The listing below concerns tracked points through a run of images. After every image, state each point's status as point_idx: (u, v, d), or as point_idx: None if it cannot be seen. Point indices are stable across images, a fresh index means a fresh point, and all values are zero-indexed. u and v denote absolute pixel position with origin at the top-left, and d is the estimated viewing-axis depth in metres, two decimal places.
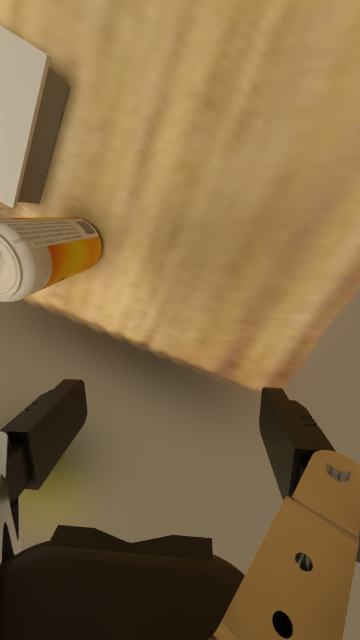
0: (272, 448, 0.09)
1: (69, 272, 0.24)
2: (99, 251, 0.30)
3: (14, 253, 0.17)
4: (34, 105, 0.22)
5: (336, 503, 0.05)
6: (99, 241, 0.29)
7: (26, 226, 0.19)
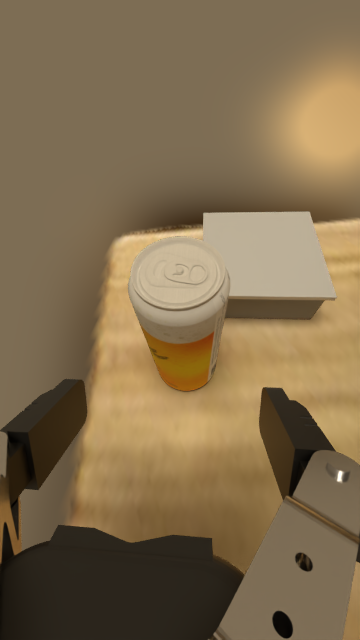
0: (272, 448, 0.09)
1: (173, 363, 0.18)
2: (192, 388, 0.24)
3: (212, 296, 0.13)
4: (296, 296, 0.24)
5: (336, 502, 0.05)
6: (203, 384, 0.24)
7: None
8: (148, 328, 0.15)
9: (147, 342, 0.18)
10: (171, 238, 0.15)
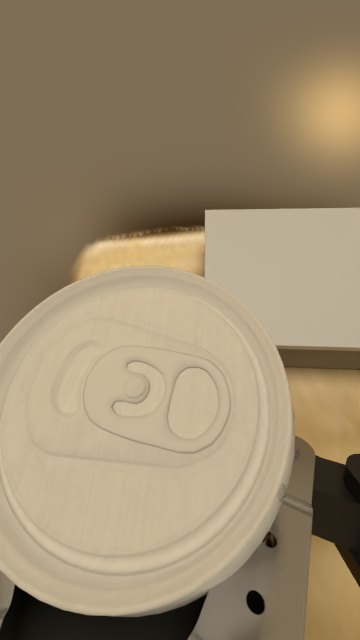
0: None
1: None
2: None
3: (252, 533, 0.03)
4: None
5: (291, 479, 0.06)
6: None
7: None
8: None
9: None
10: (122, 271, 0.05)
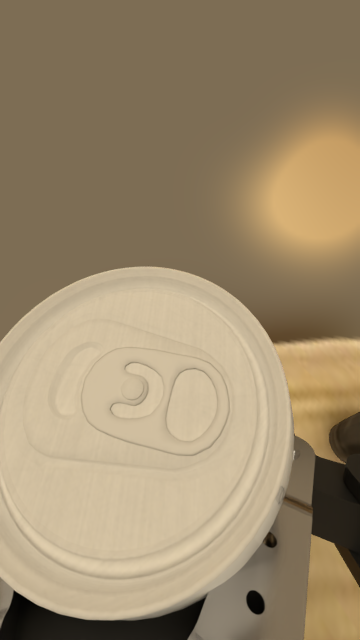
0: None
1: None
2: None
3: (251, 536, 0.03)
4: None
5: (291, 479, 0.06)
6: None
7: None
8: None
9: None
10: (121, 272, 0.05)
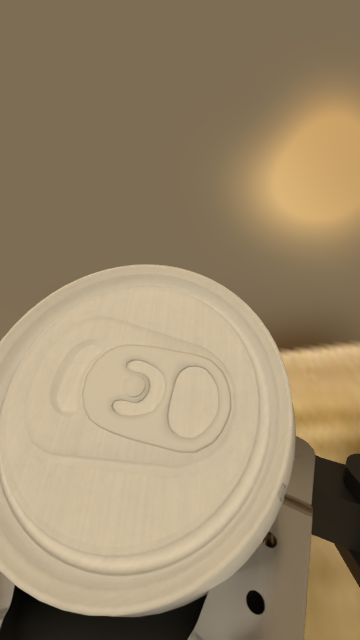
0: None
1: None
2: None
3: (253, 533, 0.03)
4: None
5: (291, 479, 0.06)
6: None
7: None
8: None
9: None
10: (122, 270, 0.05)
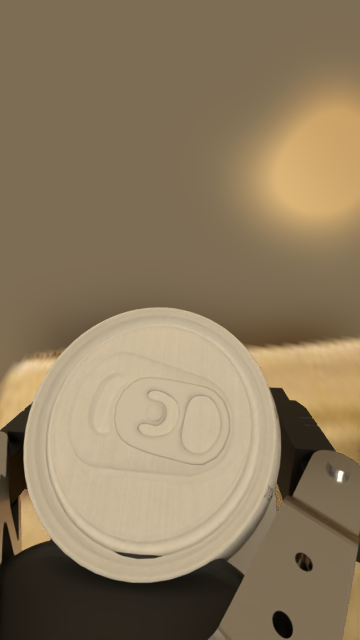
0: None
1: None
2: None
3: (246, 524, 0.04)
4: None
5: (336, 503, 0.05)
6: None
7: None
8: None
9: None
10: (140, 312, 0.07)
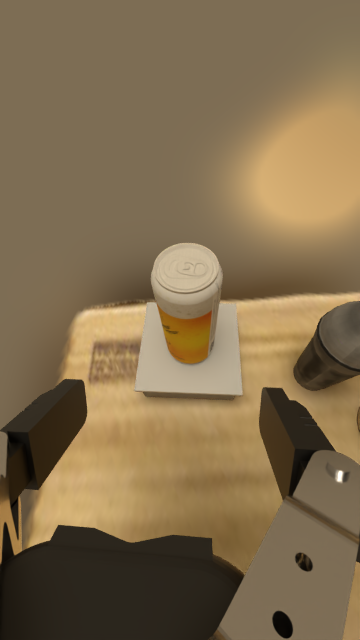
0: (272, 448, 0.09)
1: (182, 337, 0.24)
2: (195, 361, 0.30)
3: (209, 283, 0.19)
4: (210, 392, 0.30)
5: (336, 503, 0.05)
6: (204, 357, 0.30)
7: (220, 291, 0.22)
8: (165, 308, 0.21)
9: (162, 321, 0.25)
10: (180, 244, 0.21)
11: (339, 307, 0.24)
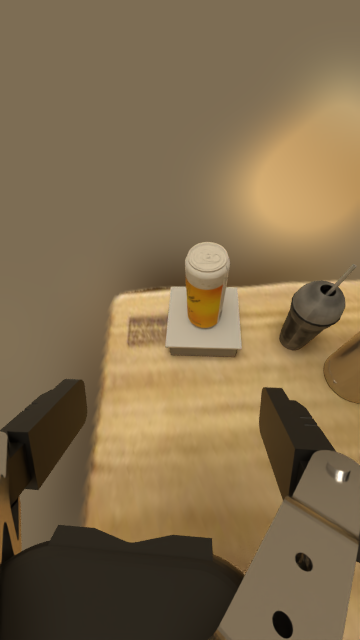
0: (272, 448, 0.09)
1: (202, 304, 0.37)
2: (209, 325, 0.43)
3: (222, 266, 0.32)
4: (219, 347, 0.42)
5: (336, 503, 0.05)
6: (215, 323, 0.43)
7: None
8: (194, 282, 0.34)
9: (189, 294, 0.37)
10: (203, 243, 0.34)
11: (305, 285, 0.37)
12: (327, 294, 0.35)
